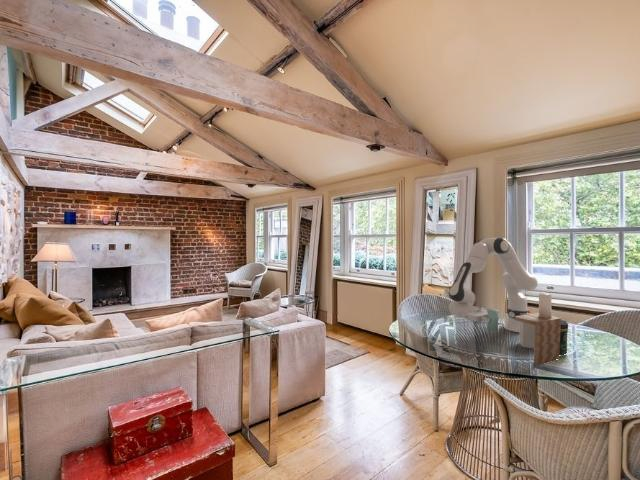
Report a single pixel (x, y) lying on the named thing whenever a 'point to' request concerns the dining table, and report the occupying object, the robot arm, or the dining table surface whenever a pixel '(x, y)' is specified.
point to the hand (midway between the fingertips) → (494, 319)
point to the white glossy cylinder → (545, 305)
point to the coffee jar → (563, 337)
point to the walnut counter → (544, 336)
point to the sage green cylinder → (492, 320)
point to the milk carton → (527, 335)
